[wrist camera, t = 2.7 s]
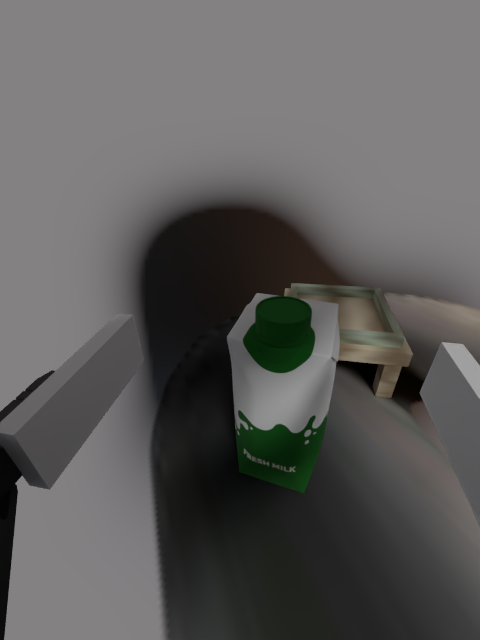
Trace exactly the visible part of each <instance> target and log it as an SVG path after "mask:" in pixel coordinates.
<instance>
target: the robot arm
mask: <svg viewBox="0 0 480 640" xmlns="http://www.w3.org/2000/svg"><path fill="white" fill-rule="evenodd" d="M143 362H144V358H143V354H142V350H141V346H140V342H139V338H138V334H137V330H136V326H135V322H134V318H133V315H128V314H117V315H116V316H115V317H114V318H113V319H112V320H111V321H109V322H108V323H107V324H106V325H105V326H104V327H103V328H102V329H101V330H100V331H99V332H98V333H96V334H95V335H94V336H93V337H92V338H91V339H90V340H89V341H88V342H87V343H86V344H85V345H83V346H82V347H81V348H80V349H79V350H78V351H77V352H76V353H75V354H74V355H73V356H72V357H70V358H69V359H68V360H67V361H66V362H65V363H64V364H63V365H62V366H61V367H60V368H59V369H57V370H56V371H51V372H49V373H47V374H45V375H43V376H42V377H40V378H38V379H37V380H36V381H34V382H33V383H32V384H31V385H30V386H29V387H28V388H27V389H26V391H23V392H22V393H21V394H20V395H19V396H18V397H16V400H13V401H12V402H11V403H10V404H9V405H7V406H6V407H5V408H4V409H3V410H2V411H1V412H0V640H4V634H5V623H6V613H7V602H8V591H9V580H10V570H11V559H12V547H13V537H14V526H15V516H16V504H17V494H18V490H17V485H15V483H16V482H17V480H18V479H19V478H20V477H21V476H23V477H24V478H25V479H26V481H27V482H28V484H29V485H31V486H36V487H40V488H45V489H50V488H51V487H52V485H53V484H54V483H55V482H56V480H57V479H58V477H59V476H60V475H61V473H62V472H63V471H64V469H65V468H66V467H67V465H68V464H69V463H70V461H71V460H72V458H73V457H74V456H75V454H76V453H77V452H78V450H79V449H80V448H81V446H82V445H83V443H84V442H85V441H86V439H87V438H88V437H89V435H90V434H91V433H92V431H93V430H94V428H95V427H96V426H97V424H98V423H99V421H100V420H101V419H102V418H103V416H104V415H105V413H106V412H107V411H108V409H109V408H110V407H111V405H112V404H113V402H114V401H115V399H116V398H117V397H118V396H119V394H120V393H121V392H122V390H123V389H124V388H125V386H126V385H127V383H128V382H129V381H130V379H131V378H132V376H133V375H134V374H135V373H136V371H137V370H138V368H139V367H140V365H141V364H142V363H143ZM420 395H421V397H422V399H423V401H424V404H425V406H426V408H427V410H428V412H429V415H430V417H431V419H432V421H433V424H434V426H435V428H436V430H437V432H438V435H439V436H440V439H441V441H442V444H443V446H444V448H445V450H446V452H447V455H448V457H449V459H450V461H451V463H452V466H453V468H454V470H455V472H456V475H457V477H458V479H459V481H460V483H461V486H462V488H463V490H464V492H465V494H466V497H467V499H468V501H469V503H470V506H471V508H472V510H473V512H474V514H475V517H476V519H477V521H478V523H479V525H480V365H479V364H478V363H477V361H476V360H475V359H474V358H473V356H472V355H471V354H470V352H469V351H468V350H467V349H466V347H465V346H464V345H463V344H457V343H446V342H441V344H440V346H439V348H438V351H437V353H436V356H435V358H434V360H433V363H432V365H431V367H430V370H429V372H428V374H427V377H426V379H425V381H424V384H423V386H422V388H421V391H420Z"/></svg>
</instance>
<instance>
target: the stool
mask: <svg viewBox="0 0 480 640" xmlns="http://www.w3.org/2000/svg"><path fill="white" fill-rule="evenodd" d="M284 296H289V297H295V298H298V299H306V300H314V301H321V302H329V303H336V304H339V307H338V324H339V335H340V347H339V357H338V360H342V361H353V362H363V363H374V364H379V365H378V368H377V372H376V375H375V379H374V382H373V389H374V393H375V396H379V397H388V398H391V396H392V394H393V391H394V388H395V385H396V382H397V379H398V376H399V373H400V371H401V368H402V366H405V367H408V366H409V364H410V361H411V358H412V355H413V353H412V351H411V349H410V347H409V345H408V343H407V341H406V339H405V337H404V335H403V333H402V331H401V329H400V327H399V325H398V323H397V321H396V319H395V317H394V315H393V313H392V311H391V309H390V306H389V304H388V302H387V300H386V298H385V296H384V294H383V293H382V291H381V289H380V288H373V287H354V286H334V285H316V284H297V283H292V284H291V289H288V288H286V289H285V295H284Z"/></svg>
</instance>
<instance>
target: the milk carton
mask: <svg viewBox="0 0 480 640" xmlns="http://www.w3.org/2000/svg"><path fill="white" fill-rule="evenodd" d="M338 307H339V304H336V303H329V302H321V301H314V300H306V299H298V298H295V297H289V296H276V295H267V294H260V293H257V294H256V295H255V297H254V298H253V300H252V301H251V303H250V304H248V305H247V306H246V307H245V309H244V311H243V313H242V314H241V316H240V317H239V319H238V321H237V322H236V324H235V325H234V327H233V328H232V330H231V331H230V333H229V334H228V336H227V342H228V347H229V352H230V357H231V364H232V380H233V397H234V413H235V430H236V443H237V453H238V464H239V472H240V473H243V474H246V475H249V476H252V477H255V478H258V479H261V480H264V481H267V482H270V483H273V484H276V485H279V486H282V487H285V488H288V489H291V490H295V491H298V492H301V493H303V494H304V493H305V490H306V487H307V485H308V482H309V479H310V477H311V474H312V471H313V469H314V466H315V463H316V461H317V458H318V454H319V451H320V447H321V443H322V439H323V435H324V430H325V425H326V420H327V415H328V410H329V404H330V399H331V394H332V389H333V383H334V377H335V369H336V361H337V362H338V357H339V347H340V335H339V324H338Z"/></svg>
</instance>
